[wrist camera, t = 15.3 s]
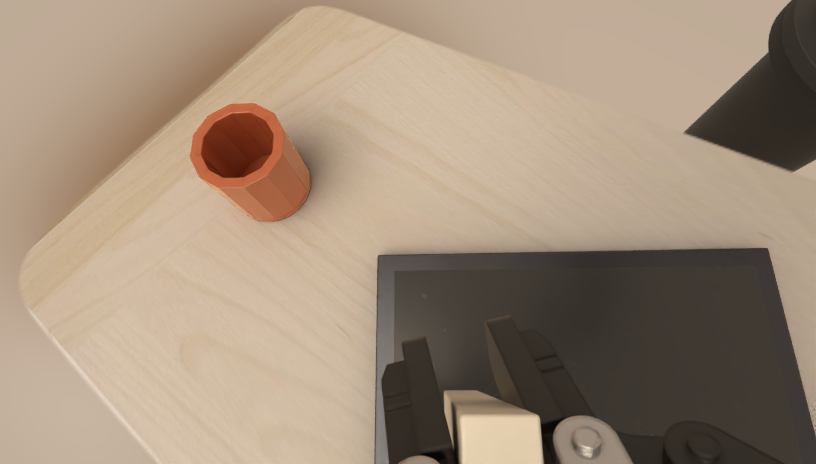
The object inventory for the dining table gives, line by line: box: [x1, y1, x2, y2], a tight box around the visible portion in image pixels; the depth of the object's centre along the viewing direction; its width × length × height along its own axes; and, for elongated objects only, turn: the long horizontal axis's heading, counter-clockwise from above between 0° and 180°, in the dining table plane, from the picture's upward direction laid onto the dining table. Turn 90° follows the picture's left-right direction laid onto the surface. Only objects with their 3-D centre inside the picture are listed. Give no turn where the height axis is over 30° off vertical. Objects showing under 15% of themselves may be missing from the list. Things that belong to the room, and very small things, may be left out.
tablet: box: [374, 248, 816, 464], centre depth 24 cm, size 22×16×1 cm
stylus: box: [444, 390, 544, 464], centre depth 14 cm, size 2×2×13 cm
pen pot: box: [190, 103, 311, 222], centre depth 26 cm, size 5×5×6 cm
